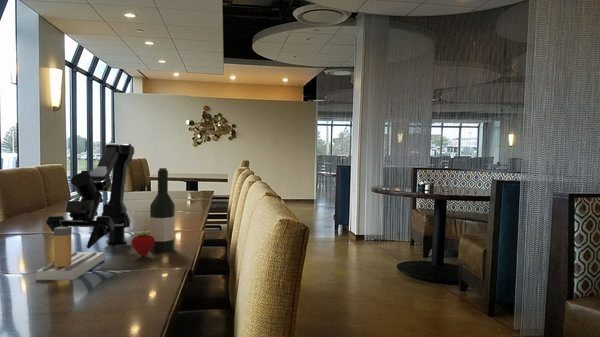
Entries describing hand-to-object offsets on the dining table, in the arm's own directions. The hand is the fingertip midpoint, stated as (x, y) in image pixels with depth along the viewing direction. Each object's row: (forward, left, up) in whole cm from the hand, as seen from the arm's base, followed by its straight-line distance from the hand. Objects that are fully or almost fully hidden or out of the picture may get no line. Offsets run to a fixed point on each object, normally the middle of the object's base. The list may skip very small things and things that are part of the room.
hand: (72, 247), depth 118 cm
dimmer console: (-1, 0, -7) cm, 7 cm away
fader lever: (+5, -3, -4) cm, 7 cm away
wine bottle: (-10, +29, -7) cm, 32 cm away
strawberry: (-4, +21, -7) cm, 23 cm away
